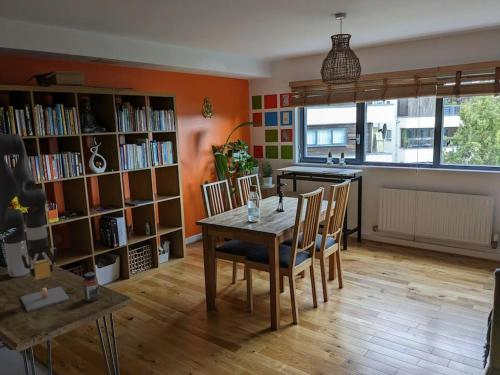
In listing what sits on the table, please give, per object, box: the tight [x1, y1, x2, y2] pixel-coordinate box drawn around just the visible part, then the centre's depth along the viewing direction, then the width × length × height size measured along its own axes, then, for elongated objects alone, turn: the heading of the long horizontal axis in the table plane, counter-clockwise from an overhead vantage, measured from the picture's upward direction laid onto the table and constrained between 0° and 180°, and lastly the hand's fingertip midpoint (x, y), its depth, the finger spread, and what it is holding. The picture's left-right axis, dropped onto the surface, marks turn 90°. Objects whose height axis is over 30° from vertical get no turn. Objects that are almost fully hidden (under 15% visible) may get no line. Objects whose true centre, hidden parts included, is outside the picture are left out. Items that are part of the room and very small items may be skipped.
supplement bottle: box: [82, 271, 101, 302], centre depth 168 cm, size 6×6×11 cm
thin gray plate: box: [20, 286, 71, 313], centre depth 169 cm, size 16×16×5 cm
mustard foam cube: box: [34, 259, 52, 281], centre depth 167 cm, size 6×6×6 cm
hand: (42, 274), depth 167 cm, fingers closed on mustard foam cube, 5 cm apart
